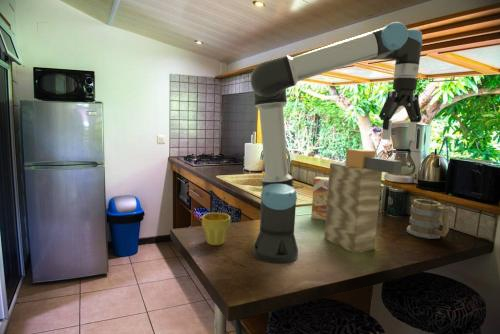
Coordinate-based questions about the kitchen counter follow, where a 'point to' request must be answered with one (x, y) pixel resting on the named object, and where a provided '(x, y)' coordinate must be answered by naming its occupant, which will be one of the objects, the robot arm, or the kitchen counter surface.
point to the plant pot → (215, 227)
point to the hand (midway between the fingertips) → (398, 139)
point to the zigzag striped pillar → (352, 207)
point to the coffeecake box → (320, 198)
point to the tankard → (428, 219)
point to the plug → (371, 161)
